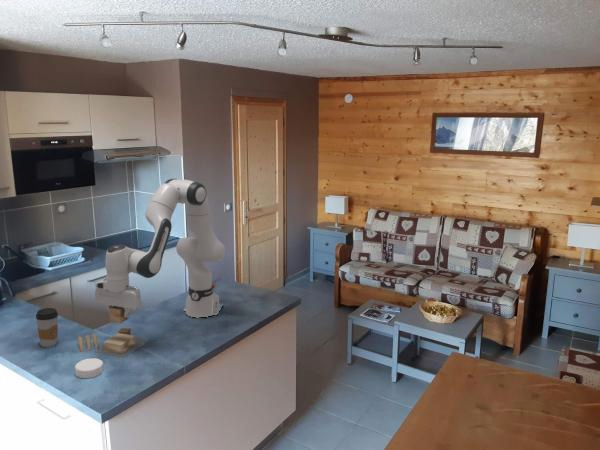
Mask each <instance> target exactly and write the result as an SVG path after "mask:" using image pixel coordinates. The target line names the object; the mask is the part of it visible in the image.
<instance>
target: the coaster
mask: <svg viewBox="0 0 600 450" xmlns="http://www.w3.org/2000/svg"><path fill="white" fill-rule="evenodd" d="M103 370H104V361H103V360H101V359H99V358H94V357H93V358H86V359H85V358H84V359H82V360H80V361H78V362H77V363H76V364H75V366H74V374H75V375H76V377H77V378H80V379H91V378H95V377H98V376H99V375H100V374H102V371H103Z"/></svg>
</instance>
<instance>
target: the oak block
mask: <svg viewBox="0 0 600 450" xmlns="http://www.w3.org/2000/svg"><path fill="white" fill-rule="evenodd" d="M125 311H126V310H125V309H124V308H123V307H117V306H112V307H111V308H109V310H108V313H109V312H110V315H109V322H110V323H113V324H114V323H116V324H123V323H124V322H126V321H127V320H128V317H129V316H128V317H123V314H122V313H124V312H125Z"/></svg>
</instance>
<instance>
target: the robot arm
mask: <svg viewBox="0 0 600 450" xmlns="http://www.w3.org/2000/svg"><path fill="white" fill-rule="evenodd" d="M208 197H209V196H208V195H207V190H206V186H205V185H204V184H202V183H201V182H198V181H194V180H189V179H183V178H182V179H181V178H180V179H177V178H170V179H167V180H166V181H165V182H164V183H162V184H161V185H159V187H158V188H157V189H156V191H155V192H154V194H153V195H152V197H151V199H150V201H149V202H148V204H147V206H146V209H145V213H144V215H145V219H146V221H147V222H148V224H150V225H151V226H152V227H153V229H154V236H153V239H152V242H151V245H150V247H149V250H148V251H142V250H139V249H136V248H132V247H131V248H130V247H128V246H127V245H125V244H120V243H119V244H114V245H110V246H109V247H108V248H107V250H106V252H105V259H104V260H105V264H104V265H105V270H106V276H105V278H104V279H101V280H99V281H97V282H95V285H94V286H95V290H94V301H95V302H96V303H97V304H99V305H100V304H101V305H105V306H106V309H107V310H108V314H109V316H110V312H109V308H111V307H113V306H117V307H123V308H124V309H125V310H126V311H125V312H124V313H122V314H123V317H129V313H130V310H136V311H137V309H139V308H141V306H142V298H141V297H142V296H141V291H140V289H139V288H138V287H137V286H131V285H130V276H129V274H131V273H133V274H136V275H139V276H141V277H143V278H146V279H151V278H153V277H155V276H156V275H157V274H158V273H159V272H160V270H161V267H162V262H163V257H164V253H165V250H166V247H167V244H168V241H169V238H170V235H171V231H172V222H171V221H172V216H173V214H174V212H175V210H176V207H177V205H178V204H186V207H185V208H186V209H185V210H186V224H187V228H188V230H189V232H190V233H192V234H193V235H194V237H189V236H187V237H181V238H180V239H179V240H178V242H177V244H176V247H175V248H176V253H177V255H178V256H179V257H180V258H181V259H182V260H183V261H184V262H183V263H185V265H186V268H187V271H188V279H189V280H188V281H189V282H188V283H189V286H188V290H187V292H188V293H187V294H188V295H186V299H185V307H184V308H183V312H184V311H186V312H185V314H187V315H188V316H187V315H186V316H187V317H189V316H191V317H190V318H192V317H196V318H195V319H200V318H199V317H207V318H209V317H208V316H211V315H217V314H218V313H219V311H220V308H219V309H218V306H219V302H220V296H219V295H218V294H216V293H215V292H214V289H216V284H212V283H213V275H212V273H213V272H212V270H211V269H210V267H208V266H207V265H206V264H205V263H220V262H221V261H222V260H223V259H224V258H225V256H226V247H225V245H224V243H222V242H221V241H220V240H219V239H218V238H217V236H216V234H215V232H214V230H213V227H212V222H211V210H210V203H209V198H208ZM204 262H205V263H204ZM215 312H217V313H215ZM220 312H221V311H220ZM219 314H220V313H219ZM219 314H218V315H219Z"/></svg>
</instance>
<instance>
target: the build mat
mask: <svg viewBox="0 0 600 450" xmlns="http://www.w3.org/2000/svg"><path fill="white" fill-rule="evenodd" d="M148 341H149V339H146V338H141V337H135V345H133V346H132V347H131V348H129V349H128V350H126V351H125V352H123V353H122V354H121V355H120V354H115V353H110V352H105V351H104V345H103V346H102V347H100V348H98V349H96V350H95V351H94V353H97V354H102V355H106V356H112V357H115V358H116V357H117V358H122V359H124V358H126V357H127V356H129V355H130V354H131V353H134V351H136V350H137V349H138V348H140V347H141V346H143V345H144V344H146V343H147V342H148Z"/></svg>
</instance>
